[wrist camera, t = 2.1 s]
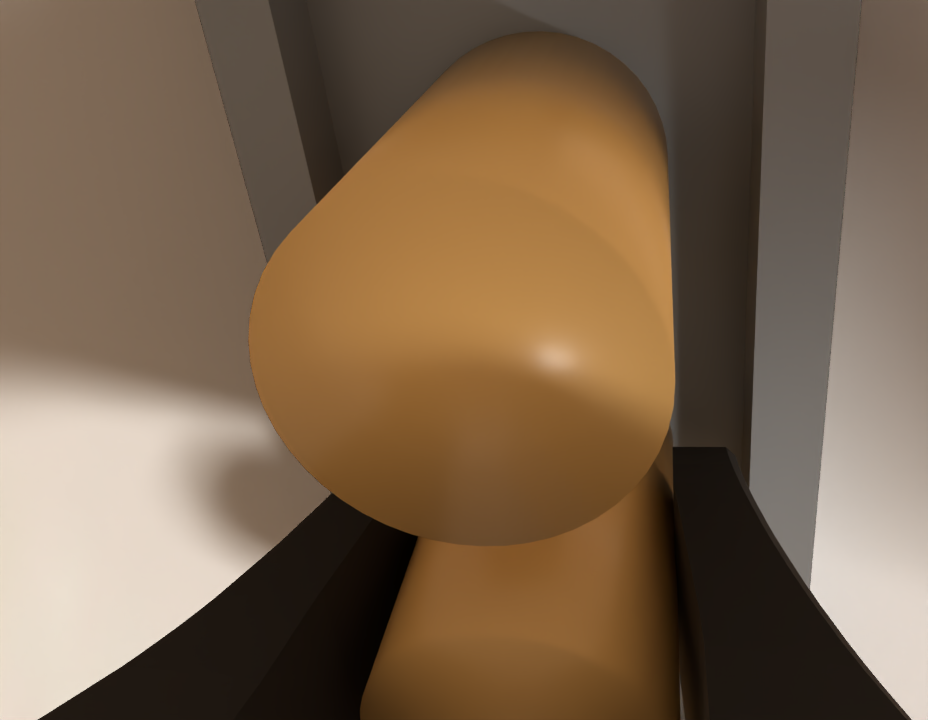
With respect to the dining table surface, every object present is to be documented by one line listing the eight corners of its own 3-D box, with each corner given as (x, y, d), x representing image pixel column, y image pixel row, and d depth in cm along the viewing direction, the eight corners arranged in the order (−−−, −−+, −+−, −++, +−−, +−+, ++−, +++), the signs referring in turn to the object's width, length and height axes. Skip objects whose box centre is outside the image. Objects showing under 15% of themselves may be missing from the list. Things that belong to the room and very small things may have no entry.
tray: (872, -685, 7) (1393, -1991, 2) (773, 762, 16) (822, 1154, 11) (157, -477, 8) (-526, -922, 3) (441, 733, 17) (360, 1066, 12)
